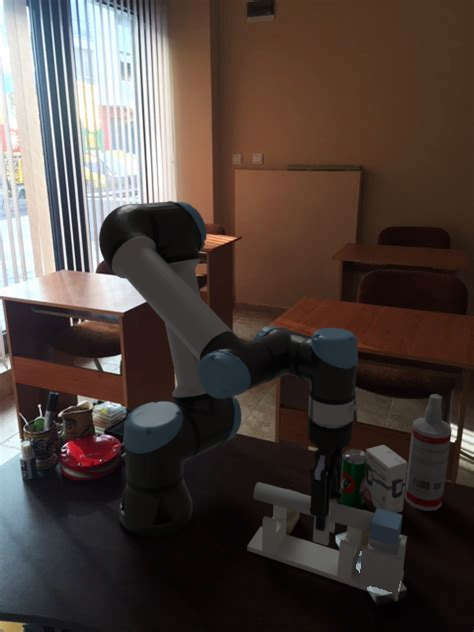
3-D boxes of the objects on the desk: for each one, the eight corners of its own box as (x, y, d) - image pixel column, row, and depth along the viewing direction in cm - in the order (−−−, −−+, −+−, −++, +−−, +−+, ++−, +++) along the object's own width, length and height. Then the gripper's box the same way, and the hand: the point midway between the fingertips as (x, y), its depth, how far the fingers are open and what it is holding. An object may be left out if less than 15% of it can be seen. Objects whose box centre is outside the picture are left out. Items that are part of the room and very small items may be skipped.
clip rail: (246, 551, 103) (247, 514, 100) (260, 529, 108) (261, 494, 106) (397, 602, 91) (401, 561, 89) (403, 575, 97) (408, 536, 95)
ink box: (360, 494, 120) (364, 447, 117) (379, 489, 122) (383, 443, 119) (384, 517, 113) (389, 467, 110) (403, 511, 115) (409, 462, 112)
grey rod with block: (252, 504, 101) (252, 489, 100) (261, 491, 105) (261, 477, 104) (396, 546, 90) (398, 530, 89) (400, 530, 94) (402, 515, 93)
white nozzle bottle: (443, 513, 114) (458, 405, 107) (407, 508, 116) (419, 402, 109) (437, 491, 122) (451, 389, 115) (403, 487, 123) (414, 387, 116)
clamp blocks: (275, 530, 109) (276, 503, 107) (285, 514, 113) (286, 488, 112) (370, 559, 101) (372, 531, 99) (376, 541, 106) (378, 514, 104)
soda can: (363, 511, 115) (367, 461, 111) (339, 508, 116) (342, 458, 112) (362, 497, 119) (367, 449, 116) (339, 494, 120) (343, 446, 117)
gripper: (339, 445, 83) (331, 571, 90) (363, 404, 97) (354, 516, 104) (293, 434, 86) (289, 557, 93) (323, 396, 100) (317, 505, 107)
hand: (323, 535), depth 98 cm, fingers closed on grey rod with block, 3 cm apart
